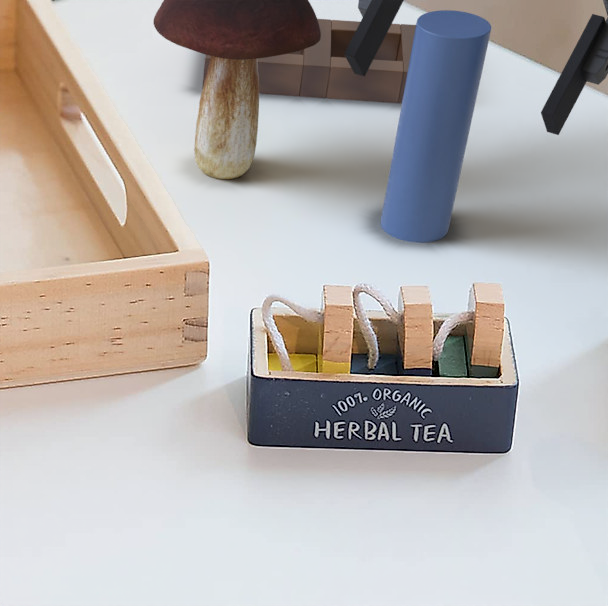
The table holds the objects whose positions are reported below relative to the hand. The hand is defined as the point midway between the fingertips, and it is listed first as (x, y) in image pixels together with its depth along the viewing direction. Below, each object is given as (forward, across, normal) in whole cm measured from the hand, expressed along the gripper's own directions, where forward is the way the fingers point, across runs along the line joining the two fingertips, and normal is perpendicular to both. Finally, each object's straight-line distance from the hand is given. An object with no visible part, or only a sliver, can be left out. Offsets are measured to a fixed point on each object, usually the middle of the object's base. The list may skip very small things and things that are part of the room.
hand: (448, 94), depth 96 cm
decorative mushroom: (+9, +14, -4) cm, 17 cm away
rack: (-5, +18, -18) cm, 26 cm away
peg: (+8, 0, -5) cm, 9 cm away
